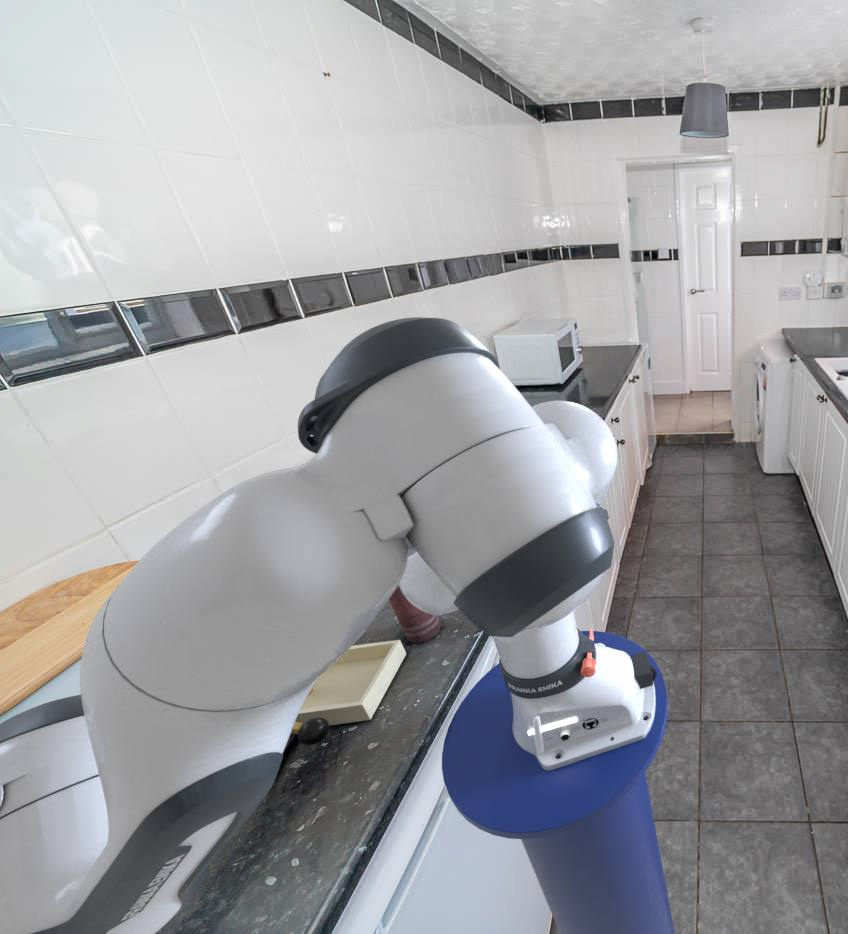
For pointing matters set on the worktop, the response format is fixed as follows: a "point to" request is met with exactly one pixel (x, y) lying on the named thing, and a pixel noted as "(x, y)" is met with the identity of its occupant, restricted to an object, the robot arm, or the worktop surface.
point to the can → (414, 619)
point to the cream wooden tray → (354, 684)
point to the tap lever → (311, 730)
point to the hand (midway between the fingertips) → (223, 764)
